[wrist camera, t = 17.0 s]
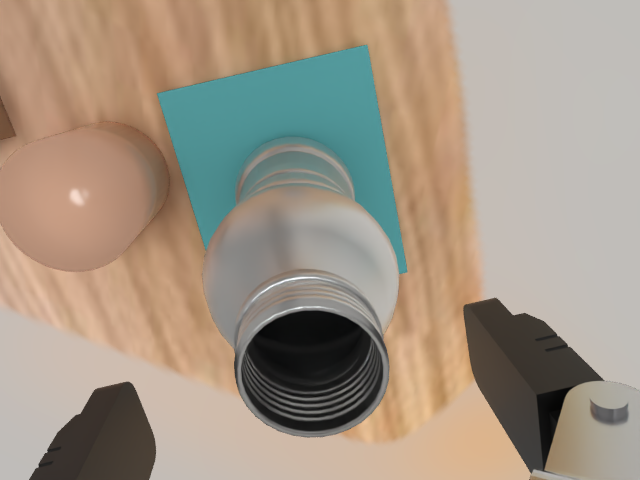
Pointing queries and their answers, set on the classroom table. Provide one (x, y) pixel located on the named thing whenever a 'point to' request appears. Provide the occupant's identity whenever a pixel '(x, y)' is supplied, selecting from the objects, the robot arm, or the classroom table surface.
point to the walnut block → (5, 123)
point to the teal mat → (282, 131)
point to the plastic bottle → (302, 290)
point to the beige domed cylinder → (82, 194)
